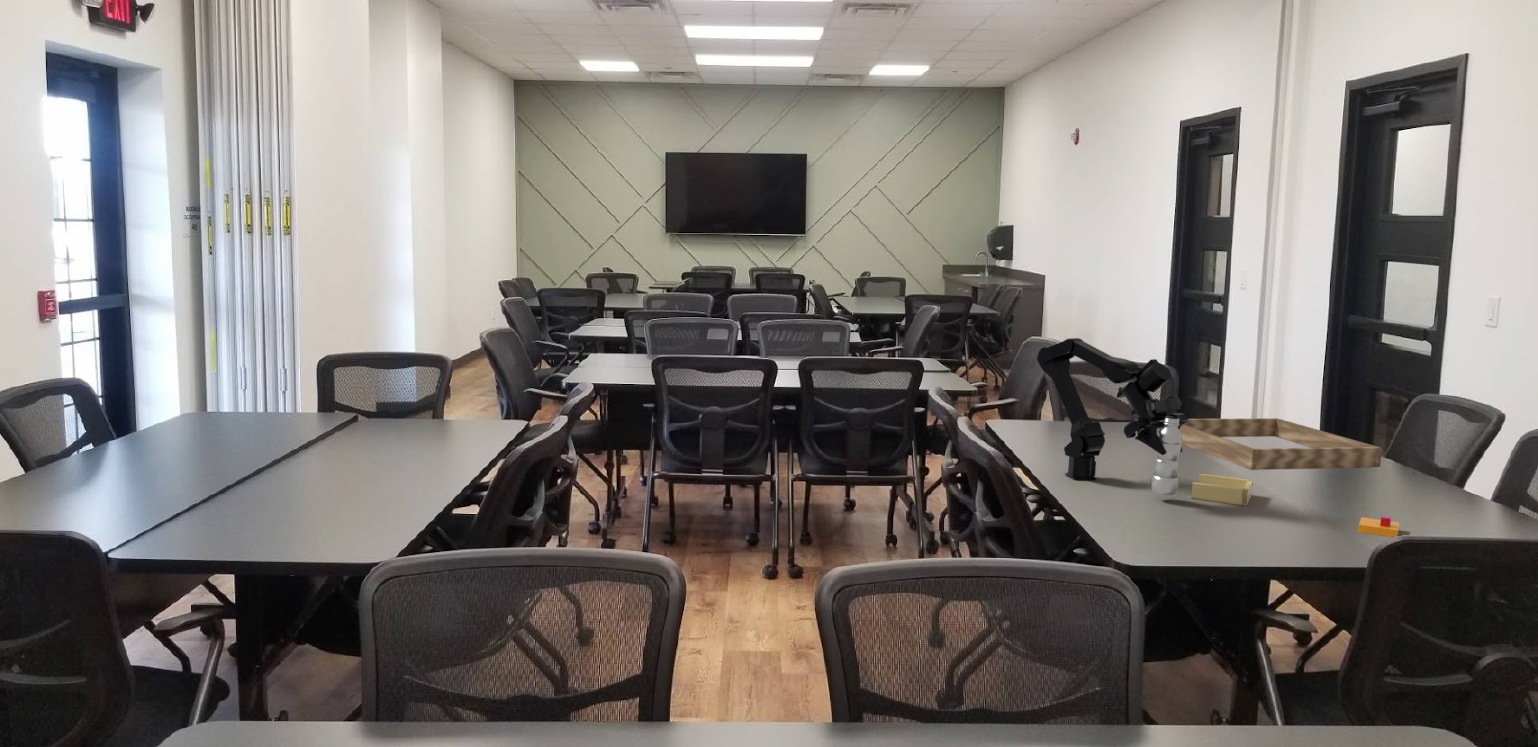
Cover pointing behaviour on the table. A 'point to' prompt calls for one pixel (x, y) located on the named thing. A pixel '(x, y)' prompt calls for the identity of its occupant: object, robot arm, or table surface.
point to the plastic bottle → (1168, 458)
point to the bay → (1222, 489)
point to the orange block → (1379, 526)
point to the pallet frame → (1320, 455)
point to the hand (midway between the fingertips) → (1172, 453)
